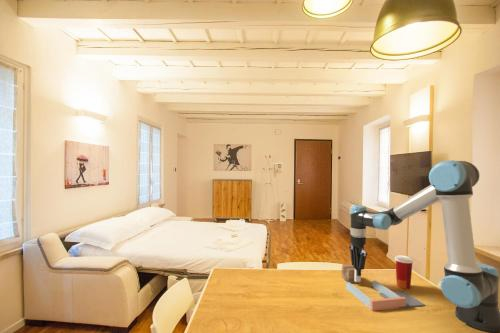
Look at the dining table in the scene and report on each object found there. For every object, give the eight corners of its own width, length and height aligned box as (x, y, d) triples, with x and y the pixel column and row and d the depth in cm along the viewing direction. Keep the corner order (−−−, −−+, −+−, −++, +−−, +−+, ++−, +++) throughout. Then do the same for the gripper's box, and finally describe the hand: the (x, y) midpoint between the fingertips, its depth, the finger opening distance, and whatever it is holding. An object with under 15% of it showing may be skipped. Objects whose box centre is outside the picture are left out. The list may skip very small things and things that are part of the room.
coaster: (424, 305, 123) (424, 304, 123) (398, 308, 120) (398, 306, 120) (403, 292, 135) (403, 291, 135) (379, 294, 133) (379, 293, 133)
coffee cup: (408, 283, 145) (408, 255, 145) (415, 290, 137) (416, 260, 137) (391, 283, 146) (391, 254, 146) (398, 290, 138) (398, 260, 138)
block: (360, 282, 146) (360, 269, 146) (348, 283, 145) (348, 270, 145) (353, 277, 153) (353, 264, 153) (341, 278, 152) (341, 265, 152)
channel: (406, 307, 121) (406, 298, 121) (372, 310, 118) (372, 301, 118) (375, 286, 142) (375, 278, 142) (345, 288, 139) (345, 280, 139)
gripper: (372, 238, 138) (371, 286, 138) (357, 232, 150) (357, 275, 150) (358, 239, 136) (358, 287, 136) (344, 233, 149) (344, 276, 149)
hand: (357, 281), depth 143 cm, fingers closed
